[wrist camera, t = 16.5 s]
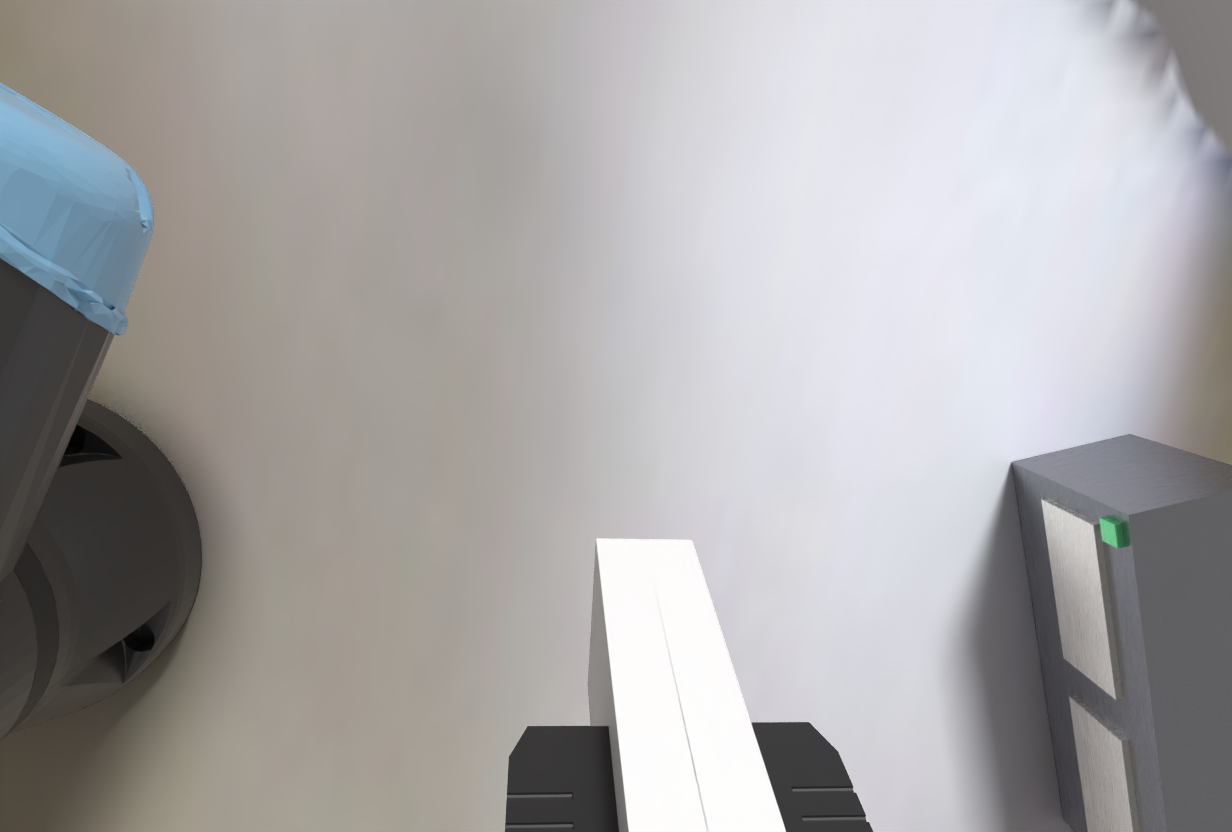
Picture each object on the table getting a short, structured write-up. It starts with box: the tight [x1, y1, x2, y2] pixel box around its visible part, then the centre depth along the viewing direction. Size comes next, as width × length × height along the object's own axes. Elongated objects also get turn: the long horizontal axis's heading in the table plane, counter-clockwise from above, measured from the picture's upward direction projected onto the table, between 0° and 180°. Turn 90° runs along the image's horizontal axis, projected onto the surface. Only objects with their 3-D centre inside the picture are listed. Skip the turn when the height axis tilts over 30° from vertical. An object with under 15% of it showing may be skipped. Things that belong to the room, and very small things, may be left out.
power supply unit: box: [1012, 434, 1232, 832], centre depth 40 cm, size 6×20×9 cm, turn 13°
